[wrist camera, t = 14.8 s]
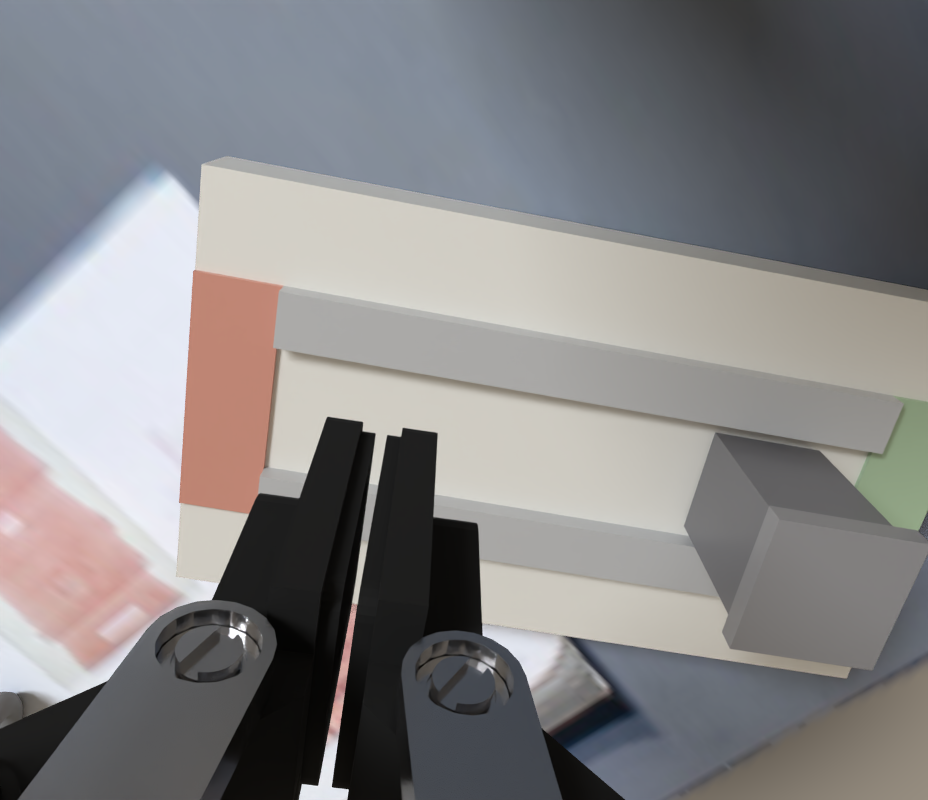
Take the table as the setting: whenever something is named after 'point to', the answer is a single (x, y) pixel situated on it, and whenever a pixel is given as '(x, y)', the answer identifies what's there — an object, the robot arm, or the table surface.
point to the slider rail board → (532, 387)
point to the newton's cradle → (10, 708)
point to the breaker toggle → (799, 554)
